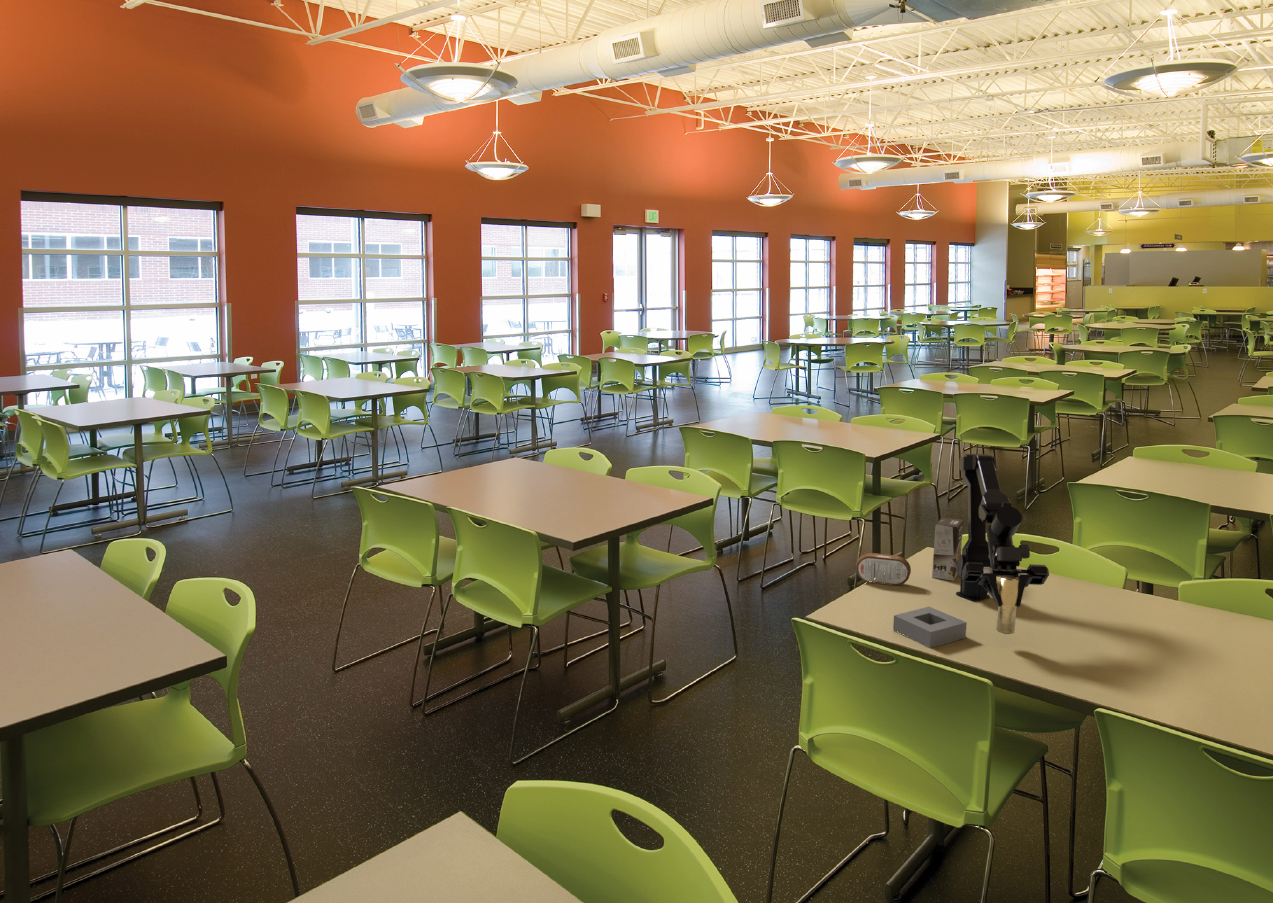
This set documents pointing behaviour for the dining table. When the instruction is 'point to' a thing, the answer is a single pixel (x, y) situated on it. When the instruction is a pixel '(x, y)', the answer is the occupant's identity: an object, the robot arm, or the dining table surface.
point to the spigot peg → (1007, 604)
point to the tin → (883, 568)
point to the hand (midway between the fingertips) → (1009, 606)
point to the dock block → (930, 626)
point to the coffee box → (947, 548)
